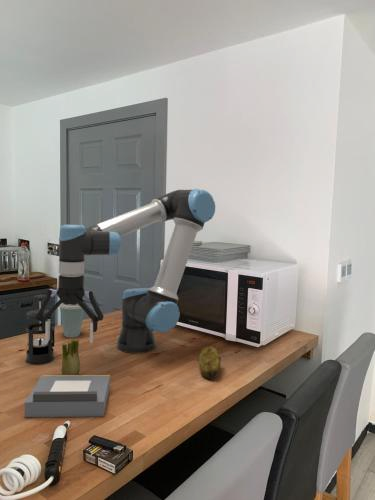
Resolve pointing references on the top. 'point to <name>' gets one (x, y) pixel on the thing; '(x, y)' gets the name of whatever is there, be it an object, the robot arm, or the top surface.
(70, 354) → the fennel bulb
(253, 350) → the top surface
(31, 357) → the french press
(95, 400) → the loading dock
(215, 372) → the olive green oval lump
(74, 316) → the disposable coffee cup
